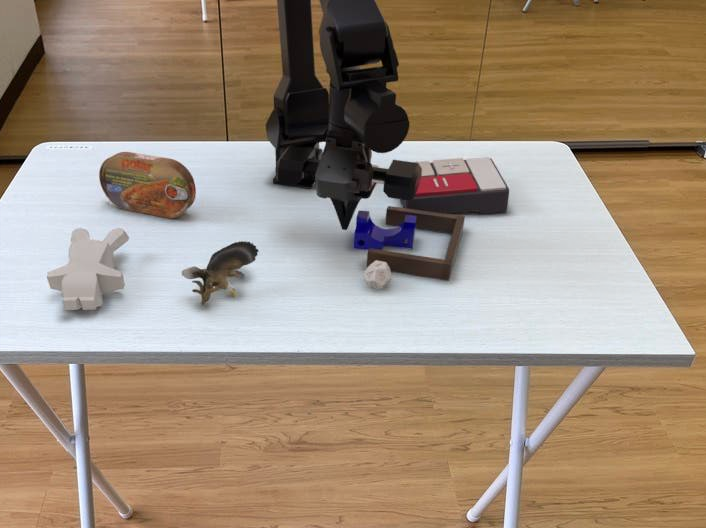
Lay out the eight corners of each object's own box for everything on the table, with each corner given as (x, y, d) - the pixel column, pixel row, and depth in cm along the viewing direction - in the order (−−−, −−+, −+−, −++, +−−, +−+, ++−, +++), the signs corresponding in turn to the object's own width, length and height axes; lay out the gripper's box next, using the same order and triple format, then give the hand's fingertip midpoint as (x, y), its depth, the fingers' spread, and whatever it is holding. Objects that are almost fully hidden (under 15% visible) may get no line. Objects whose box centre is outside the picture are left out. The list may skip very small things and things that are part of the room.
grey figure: (35, 290, 94) (61, 215, 104) (46, 321, 97) (70, 246, 107) (113, 290, 93) (132, 215, 103) (121, 321, 97) (138, 246, 107)
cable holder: (353, 248, 107) (354, 222, 105) (357, 235, 110) (358, 210, 107) (411, 254, 106) (414, 228, 103) (413, 241, 109) (416, 215, 106)
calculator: (394, 160, 119) (491, 152, 119) (393, 186, 122) (488, 178, 122) (406, 194, 111) (511, 185, 111) (405, 221, 114) (507, 212, 114)
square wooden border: (366, 267, 104) (367, 251, 102) (386, 221, 113) (388, 205, 111) (448, 280, 101) (451, 264, 99) (462, 231, 110) (465, 216, 109)
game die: (397, 286, 100) (399, 266, 98) (374, 295, 99) (375, 275, 97) (380, 274, 103) (382, 254, 101) (357, 282, 101) (359, 263, 99)
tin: (103, 205, 118) (93, 153, 112) (114, 196, 120) (104, 144, 114) (191, 223, 113) (185, 169, 108) (201, 213, 115) (196, 160, 110)
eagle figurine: (241, 310, 95) (272, 262, 100) (204, 266, 91) (238, 219, 96) (201, 321, 100) (233, 275, 105) (166, 280, 97) (200, 235, 102)
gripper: (260, 136, 94) (263, 247, 105) (411, 156, 90) (399, 270, 101) (288, 102, 102) (288, 208, 113) (428, 119, 98) (415, 228, 108)
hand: (345, 228), depth 108 cm, fingers closed
